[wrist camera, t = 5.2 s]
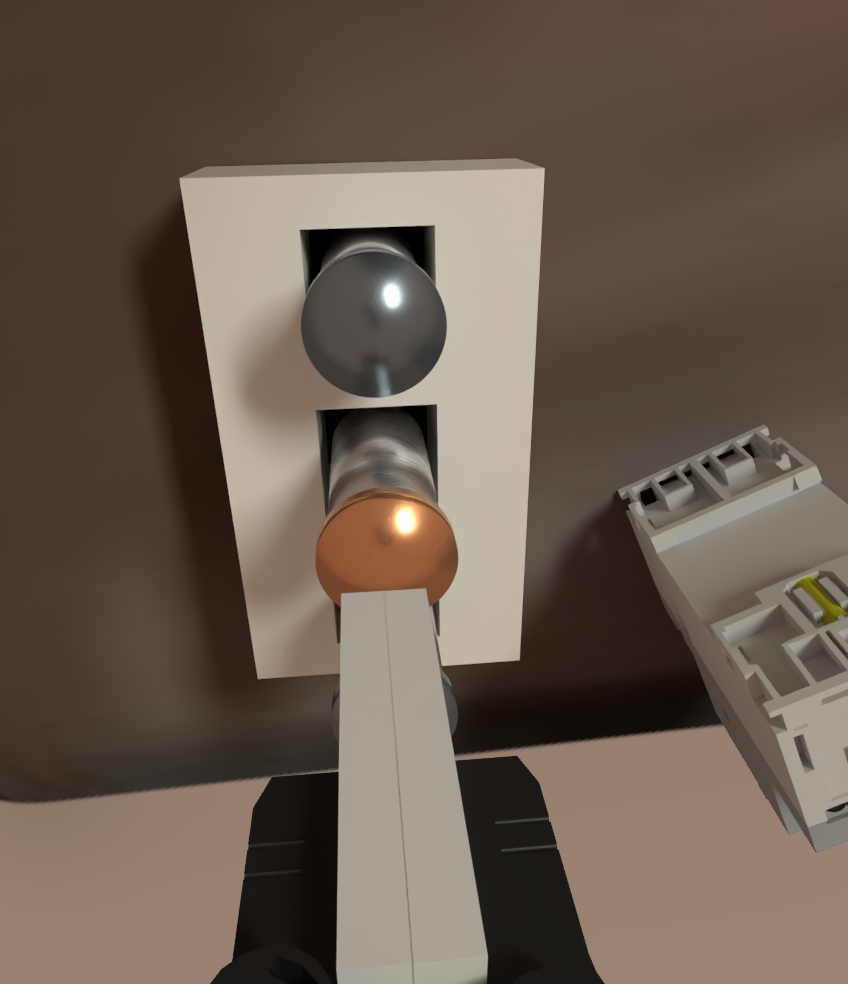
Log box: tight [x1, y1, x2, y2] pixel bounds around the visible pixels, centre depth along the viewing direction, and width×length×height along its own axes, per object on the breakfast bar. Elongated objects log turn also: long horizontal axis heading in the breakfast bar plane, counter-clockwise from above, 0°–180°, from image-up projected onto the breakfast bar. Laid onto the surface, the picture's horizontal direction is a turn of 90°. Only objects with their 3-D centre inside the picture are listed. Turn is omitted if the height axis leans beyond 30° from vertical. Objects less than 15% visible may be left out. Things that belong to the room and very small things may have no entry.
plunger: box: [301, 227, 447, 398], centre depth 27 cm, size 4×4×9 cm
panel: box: [179, 158, 545, 679], centre depth 32 cm, size 21×12×5 cm, turn 1°
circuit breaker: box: [618, 425, 848, 853], centre depth 33 cm, size 8×14×15 cm, turn 25°
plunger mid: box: [315, 406, 458, 607], centre depth 27 cm, size 4×4×9 cm
